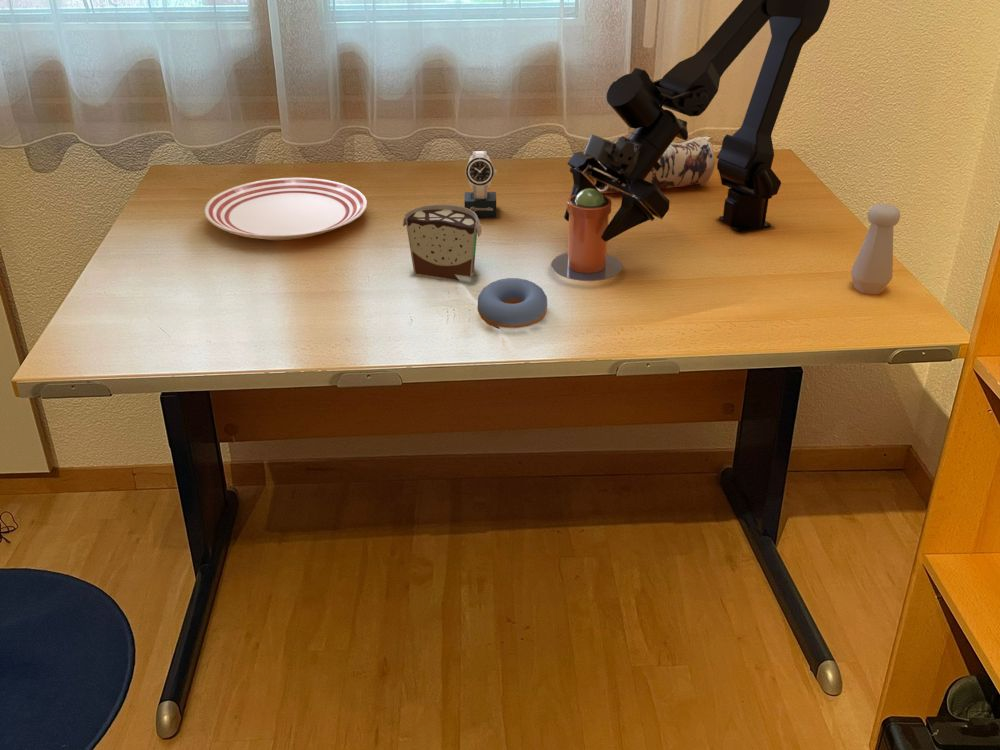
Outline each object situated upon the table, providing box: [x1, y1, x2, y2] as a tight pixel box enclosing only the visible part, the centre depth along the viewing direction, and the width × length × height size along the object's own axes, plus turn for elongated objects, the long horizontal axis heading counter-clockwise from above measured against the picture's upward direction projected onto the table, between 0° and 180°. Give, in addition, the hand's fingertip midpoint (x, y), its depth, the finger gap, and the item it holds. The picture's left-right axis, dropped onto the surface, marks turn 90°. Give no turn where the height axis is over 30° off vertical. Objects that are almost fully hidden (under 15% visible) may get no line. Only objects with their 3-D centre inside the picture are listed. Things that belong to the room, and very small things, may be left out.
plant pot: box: [566, 188, 613, 273], centre depth 149 cm, size 7×7×12 cm
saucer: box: [550, 251, 623, 282], centre depth 153 cm, size 11×11×1 cm
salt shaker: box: [850, 203, 901, 295], centre depth 144 cm, size 6×6×13 cm
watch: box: [464, 150, 498, 219], centre depth 170 cm, size 6×8×11 cm
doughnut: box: [476, 277, 548, 330], centre depth 139 cm, size 10×10×5 cm
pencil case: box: [597, 136, 716, 194], centre depth 181 cm, size 22×8×10 cm, turn 101°
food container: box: [402, 203, 482, 283], centre depth 151 cm, size 12×6×10 cm, turn 71°
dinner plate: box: [204, 177, 368, 241], centre depth 170 cm, size 27×27×3 cm
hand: (584, 229), depth 149 cm, fingers open, 9 cm apart
